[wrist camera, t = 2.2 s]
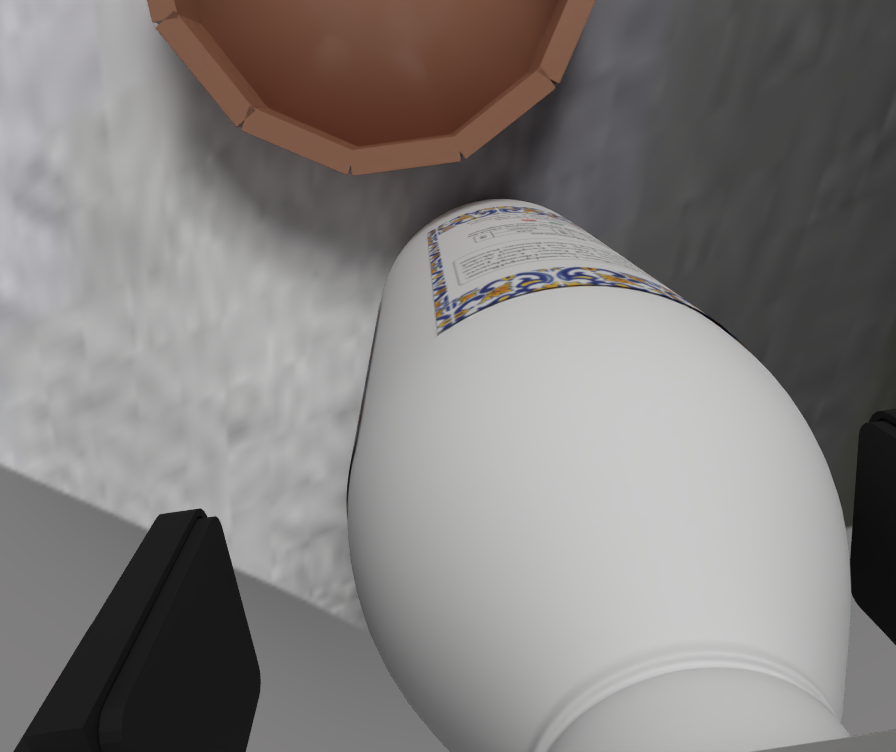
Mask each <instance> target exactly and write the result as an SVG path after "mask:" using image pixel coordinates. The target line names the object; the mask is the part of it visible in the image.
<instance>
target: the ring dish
mask: <svg viewBox="0 0 896 752" xmlns="http://www.w3.org/2000/svg"><path fill="white" fill-rule="evenodd" d="M595 1H596V0H147V2H148V6H149V10H150V14H151V18H152V22H155V23H158V24H159V25H158V26H157V27H156V29H157V30H158V32H159V33H160V34H161V35H162V37H163V38H164V39H165V40H166V41H167V43H168V44H169V45H170V46H171V47H172V49H173V50H174V51H175V52H176V54H177V55H178V56H179V57H180V58H181V60H182V61H183V62H184V63H185V65H186V66H187V67H188V68H189V69H190V71H191V72H192V73H193V74H194V76H195V77H196V78H197V79H198V80H199V82H200V83H201V84H202V85H203V87H204V88H205V89H206V90H207V91H208V93H209V94H210V95H211V96H212V98H213V99H214V100H215V101H216V102H217V104H218V105H219V106H220V107H221V109H222V110H223V111H224V112H225V113H226V115H227V116H228V117H229V118H230V120H231V121H232V122H233V123H234V124H235V126H236V127H240V126H242V130H241V131H244V132H246V133H249V134H251V135H253V136H256V137H258V138H260V139H263V140H265V141H268V142H270V143H272V144H275V145H277V146H279V147H282V148H284V149H287V150H289V151H291V152H294V153H296V154H298V155H301V156H303V157H306V158H308V159H310V160H313V161H315V162H317V163H320V164H322V165H325V166H327V167H329V168H332V169H334V170H336V171H339V172H341V173H344V174H346V175H348V174H349V173H350V172H351V171H352V175H353V176H355V175H362V174H370V173H377V172H385V171H392V170H400V169H407V168H414V167H422V166H429V165H437V164H444V163H452V162H459V161H461V158H460V154H461V155H462V156H463V157H464V158H465V159H467V158H468V157H469V156H471V155H472V154H473V153H474V152H476V151H477V150H478V149H479V148H481V147H482V146H483V145H484V144H486V143H487V142H488V141H490V140H491V139H492V138H493V137H495V136H496V135H497V134H498V133H500V132H501V131H502V130H503V129H505V128H506V127H507V126H509V125H510V124H511V123H512V122H514V121H515V120H516V119H517V118H519V117H520V116H521V115H522V114H524V113H525V112H526V111H528V110H529V109H530V108H531V107H533V106H534V105H535V104H536V103H538V102H539V101H540V100H541V99H543V98H544V97H545V96H547V95H548V94H549V93H550V92H552V91H553V90H554V89H555V86H554V84H559V83H560V81H561V79H562V76H563V74H564V72H565V70H566V67H567V65H568V63H569V60H570V58H571V56H572V54H573V51H574V49H575V47H576V44H577V42H578V40H579V37H580V35H581V33H582V31H583V28H584V26H585V24H586V21H587V19H588V17H589V15H590V12H591V10H592V8H593V5H594V3H595Z"/></svg>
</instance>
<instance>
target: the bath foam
mask: <svg viewBox="0 0 896 752" xmlns="http://www.w3.org/2000/svg"><path fill="white" fill-rule="evenodd" d="M380 302H381V303H380V306H379V308H380V309H379V311H378V313H379V315H378V316H377V319H378V320H377V322H376V325H377V326H376V327H375V333H374V338H373V344H372V349H371V354H370V360H369V365H368V371H367V376H366V382H365V387H364V393H363V398H362V404H361V409H360V415H359V420H358V426H357V431H356V437H355V442H354V448H353V453H352V458H351V464H350V470H349V476H348V484H347V520H348V538H349V547H350V556H351V563H352V569H353V574H354V579H355V584H356V588H357V593H358V597H359V600H360V603H361V607H362V610H363V613H364V616H365V619H366V622H367V625H368V628H369V631H370V633H371V636H372V638H373V640H374V642H375V645H376V647H377V649H378V651H379V653H380V655H381V657H382V659H383V661H384V663H385V665H386V667H387V669H388V671H389V673H390V674H391V676H392V678H393V679H394V681H395V683H396V684H397V686H398V687H399V689H400V690H401V692H402V693H403V694H404V696H405V698H406V699H407V701H408V702H409V703H410V705H411V706H412V708H413V709H414V710H415V712H416V713H417V714H418V715H419V717H420V718H421V719H422V720H423V721H424V723H425V724H426V725H427V726H428V727H429V729H430V730H431V731H432V732H433V734H434V735H435V736H436V737H437V738H438V739H439V740H440V741H441V742H442V743H443V745H444V746H445V747H447V749H448V750H449V751H450V752H751V751H758V750H764V749H771V748H778V747H784V746H791V745H797V744H804V743H811V742H817V741H824V740H830V739H837V738H843V737H850V734H849V733H848V732H847V731H846V729H845V728H844V727H843V726H842V714H843V704H844V694H845V683H846V672H847V660H848V648H849V633H850V614H851V577H850V558H849V548H848V541H847V535H846V529H845V523H844V518H843V513H842V508H841V504H840V500H839V497H838V494H837V491H836V488H835V485H834V482H833V479H832V476H831V473H830V470H829V467H828V465H827V462H826V460H825V458H824V456H823V453H822V451H821V449H820V447H819V445H818V443H817V441H816V439H815V437H814V435H813V433H812V431H811V430H810V428H809V426H808V424H807V422H806V421H805V419H804V418H803V416H802V414H801V413H800V411H799V410H798V408H797V407H796V405H795V404H794V402H793V401H792V399H791V398H790V397H789V395H788V394H787V393H786V391H785V390H784V389H783V387H782V386H781V385H780V384H779V382H778V381H777V380H776V379H775V378H774V377H773V375H772V374H771V373H770V372H769V371H768V370H767V369H766V368H765V367H764V366H763V365H762V364H761V363H760V362H759V361H758V359H757V358H756V357H755V356H754V355H753V354H752V353H751V352H750V351H749V350H748V349H747V348H746V347H745V346H744V345H743V344H742V343H741V342H740V341H739V340H738V339H737V338H736V337H735V336H734V335H733V334H732V333H730V332H729V331H728V330H727V329H726V328H724V327H723V326H722V325H721V324H719V323H718V322H717V321H715V320H714V319H712V318H711V317H709V316H708V315H706V314H705V313H704V312H702V311H701V310H699V309H698V308H696V307H695V306H693V305H692V304H690V303H689V302H688V301H686V300H685V299H683V298H682V297H680V296H679V295H677V294H676V293H675V292H673V291H672V290H670V289H669V288H667V287H666V286H664V285H663V284H661V283H660V282H659V281H657V280H656V279H654V278H653V277H651V276H650V275H648V274H647V273H645V272H644V271H643V270H641V269H640V268H638V267H637V266H635V265H634V264H632V263H631V262H630V261H628V260H627V259H625V258H624V257H622V256H621V255H619V254H618V253H616V252H615V251H614V250H612V249H611V248H609V247H608V246H606V245H605V244H603V243H602V242H600V241H599V240H598V239H596V238H595V237H593V236H592V235H590V234H589V233H587V232H586V231H584V230H583V229H582V228H580V227H579V226H577V225H576V224H574V223H572V222H571V221H569V220H567V219H565V218H564V217H562V216H561V215H559V214H557V213H555V212H553V211H552V210H550V209H547V208H545V207H542V206H540V205H536V204H533V203H529V202H525V201H520V200H511V199H490V200H482V201H477V202H472V203H468V204H465V205H462V206H459V207H456V208H454V209H452V210H449V211H447V212H445V213H444V214H442V215H440V216H438V217H437V218H435V219H433V220H432V221H431V222H429V223H428V224H427V225H425V226H424V227H423V228H422V229H420V230H419V231H418V232H417V233H416V234H415V235H414V236H413V237H412V238H411V239H410V240H409V242H408V243H407V244H406V245H405V247H404V248H403V249H402V251H401V252H400V254H399V255H398V257H397V258H396V260H395V262H394V264H393V266H392V268H391V270H390V272H389V274H388V277H387V280H386V283H385V286H384V290H383V294H382V298H381V301H380Z"/></svg>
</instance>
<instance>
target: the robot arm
mask: <svg viewBox="0 0 896 752" xmlns="http://www.w3.org/2000/svg"><path fill="white" fill-rule="evenodd" d="M850 577H851V593H852V595H853V598H854V599H855V601H856V603H857V604H858V605H859V607H860V608H861V609H862V610H863V611H864V612H865V613H866V614H867V615H868V616H869V617H870V618H871V619H872V620H873V621H874V623H875V624H876V625H877V626H878V627H879V628H880V629H881V630H882V631H883V632H884V633H885V634H886V635H887V636H888V637H889V638H890V639H891V641H892V642H893V643H894V644H895V645H896V409H892V410H885V411H878V412H876V413H874V414H873V415H872V417H871V418H870V420H869V423H865V424H864V425H863V426H862V427H861V429H860V433H859V443H858V457H857V471H856V485H855V499H854V514H853V528H852V542H851V558H850ZM260 684H261V682H260V670H259V665H258V661H257V657H256V653H255V649H254V646H253V642H252V638H251V635H250V631H249V627H248V623H247V620H246V616H245V612H244V608H243V604H242V601H241V597H240V593H239V589H238V586H237V582H236V578H235V575H234V570H233V567H232V563H231V559H230V555H229V551H228V548H227V544H226V540H225V536H224V533H223V529H222V526H221V523H220V521H219V519H218V518H217V517H216V516H215V517H208V518H207V515H206V514H205V512H204V511H203V510H202V509H194V510H187V511H180V512H173V513H166V514H160V515H159V516H158V517H157V518H156V520H155V521H154V523H153V525H152V526H151V528H150V530H149V531H148V533H147V534H146V536H145V538H144V540H143V541H142V543H141V544H140V546H139V548H138V549H137V551H136V553H135V554H134V556H133V558H132V559H131V561H130V562H129V564H128V566H127V567H126V569H125V571H124V572H123V574H122V576H121V577H120V579H119V581H118V582H117V584H116V585H115V587H114V589H113V590H112V592H111V594H110V595H109V597H108V599H107V600H106V602H105V603H104V605H103V607H102V608H101V610H100V612H99V613H98V615H97V616H96V618H95V620H94V621H93V623H92V624H91V626H90V627H89V629H88V631H87V632H86V634H85V635H84V637H83V639H82V640H81V642H80V644H79V645H78V647H77V648H76V650H75V652H74V653H73V655H72V657H71V658H70V660H69V662H68V663H67V665H66V667H65V668H64V670H63V671H62V673H61V675H60V676H59V678H58V680H57V681H56V683H55V685H54V686H53V688H52V689H51V691H50V693H49V694H48V696H47V698H46V699H45V701H44V702H43V704H42V706H41V707H40V709H39V711H38V712H37V714H36V716H35V717H34V719H33V721H32V722H31V724H30V725H29V727H28V729H27V730H26V732H25V734H24V735H23V737H22V739H21V741H20V742H19V744H18V745H17V747H16V749H15V750H14V752H246V748H247V744H248V740H249V736H250V732H251V727H252V723H253V719H254V715H255V711H256V707H257V703H258V699H259V694H260ZM751 752H896V730H889V731H883V732H876V733H870V734H863V735H857V736H850V737H843V738H837V739H830V740H824V741H817V742H811V743H804V744H797V745H791V746H784V747H778V748H771V749H764V750H758V751H751Z"/></svg>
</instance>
